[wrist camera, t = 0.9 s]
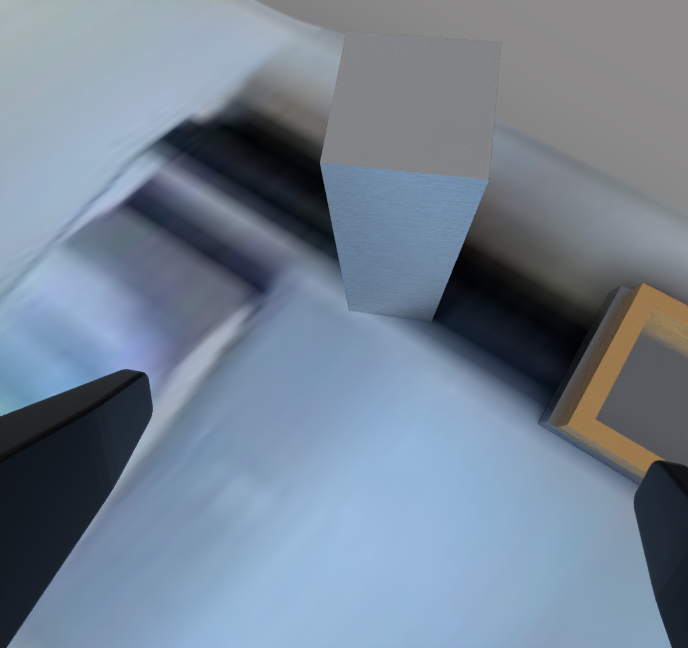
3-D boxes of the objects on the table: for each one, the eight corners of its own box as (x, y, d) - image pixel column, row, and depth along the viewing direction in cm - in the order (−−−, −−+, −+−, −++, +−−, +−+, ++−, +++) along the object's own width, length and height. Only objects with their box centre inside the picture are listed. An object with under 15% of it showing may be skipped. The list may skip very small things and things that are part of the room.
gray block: (433, 321, 22) (493, 179, 11) (349, 310, 23) (319, 162, 11) (442, 246, 23) (505, 42, 12) (361, 236, 24) (346, 31, 12)
